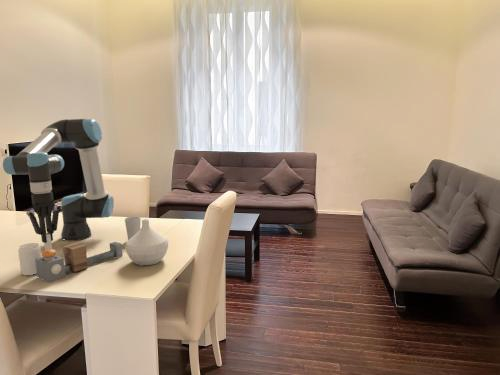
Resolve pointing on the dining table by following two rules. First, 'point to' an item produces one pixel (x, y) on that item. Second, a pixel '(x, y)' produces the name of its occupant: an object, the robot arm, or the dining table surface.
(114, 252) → the rail
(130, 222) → the cup
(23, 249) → the beverage can
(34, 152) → the robot arm
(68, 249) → the carriage
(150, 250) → the vase
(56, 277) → the housing
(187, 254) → the dining table surface
